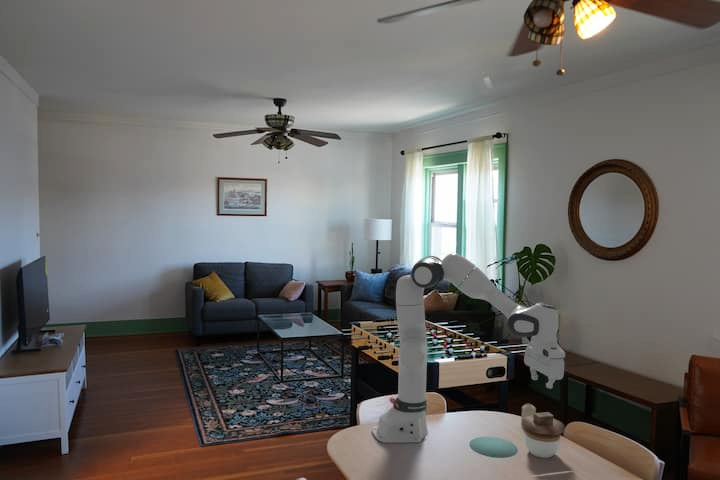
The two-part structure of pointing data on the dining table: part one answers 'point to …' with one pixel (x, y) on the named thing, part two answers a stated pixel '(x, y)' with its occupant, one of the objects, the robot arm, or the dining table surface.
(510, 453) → the mat
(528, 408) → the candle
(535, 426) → the lid
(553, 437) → the lidded bowl
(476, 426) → the dining table surface
